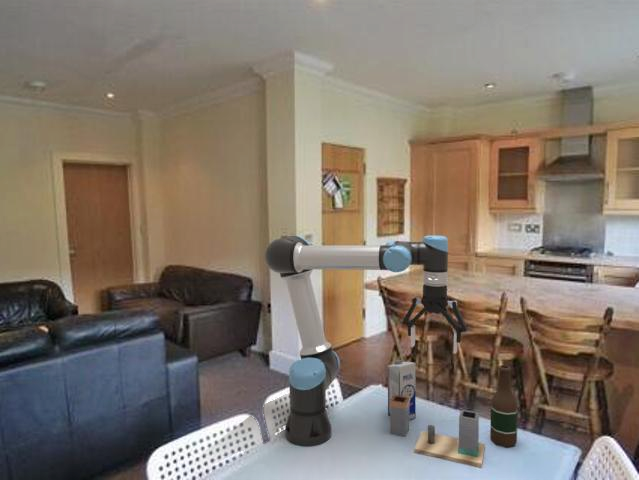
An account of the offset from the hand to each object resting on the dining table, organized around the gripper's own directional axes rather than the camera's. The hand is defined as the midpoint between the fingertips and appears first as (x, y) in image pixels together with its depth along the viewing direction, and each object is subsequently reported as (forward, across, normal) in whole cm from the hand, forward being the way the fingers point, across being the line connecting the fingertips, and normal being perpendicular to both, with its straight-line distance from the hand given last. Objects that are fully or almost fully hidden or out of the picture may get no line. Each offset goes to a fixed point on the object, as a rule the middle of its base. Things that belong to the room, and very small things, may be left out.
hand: (433, 349), depth 140 cm
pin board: (+27, +7, -9) cm, 30 cm away
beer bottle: (+27, +22, +2) cm, 35 cm away
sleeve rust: (+28, -9, -5) cm, 30 cm away
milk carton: (+28, -12, +5) cm, 30 cm away
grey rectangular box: (+26, +13, -9) cm, 30 cm away
